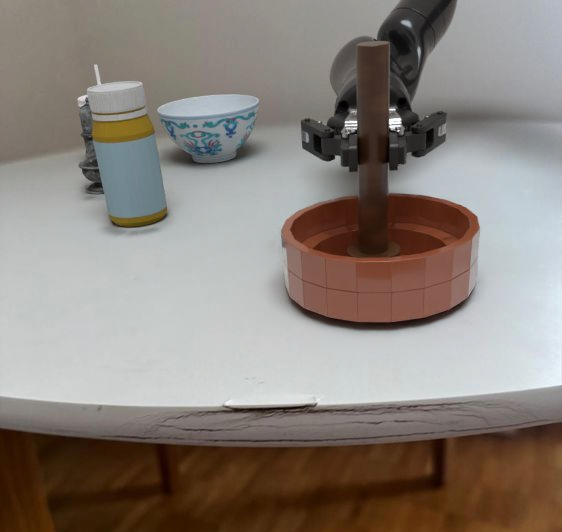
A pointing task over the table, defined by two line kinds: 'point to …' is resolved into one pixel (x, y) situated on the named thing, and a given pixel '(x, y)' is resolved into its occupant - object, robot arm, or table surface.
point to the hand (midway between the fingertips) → (372, 158)
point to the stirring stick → (373, 151)
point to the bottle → (127, 154)
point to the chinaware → (210, 124)
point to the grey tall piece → (89, 151)
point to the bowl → (381, 259)
